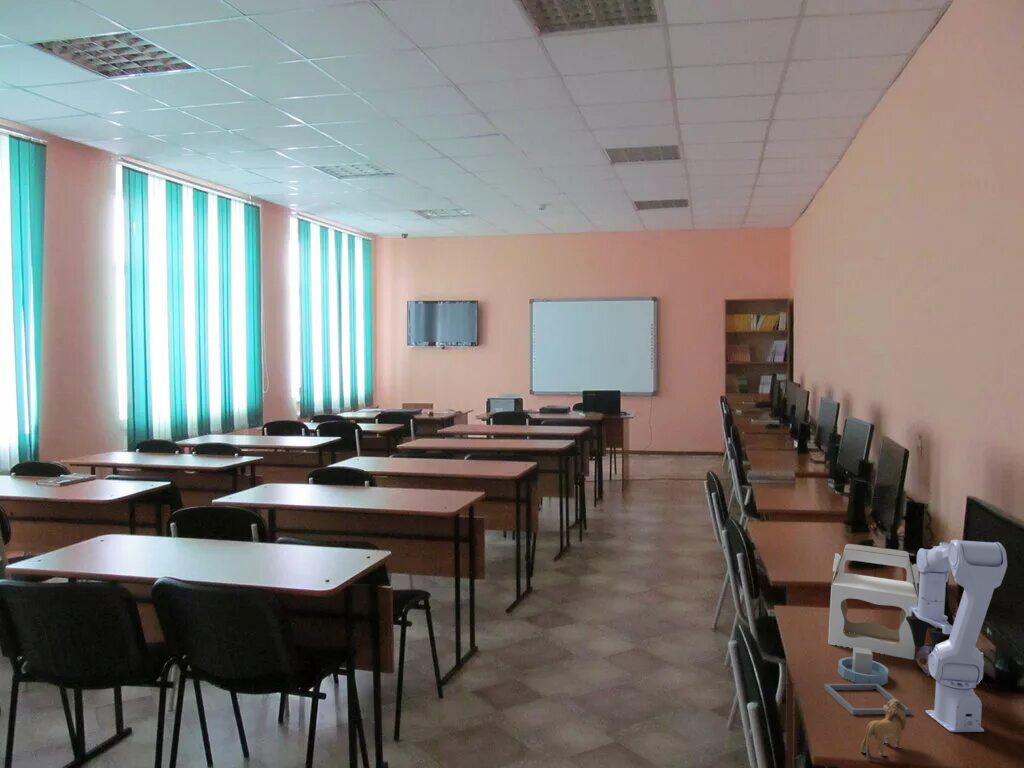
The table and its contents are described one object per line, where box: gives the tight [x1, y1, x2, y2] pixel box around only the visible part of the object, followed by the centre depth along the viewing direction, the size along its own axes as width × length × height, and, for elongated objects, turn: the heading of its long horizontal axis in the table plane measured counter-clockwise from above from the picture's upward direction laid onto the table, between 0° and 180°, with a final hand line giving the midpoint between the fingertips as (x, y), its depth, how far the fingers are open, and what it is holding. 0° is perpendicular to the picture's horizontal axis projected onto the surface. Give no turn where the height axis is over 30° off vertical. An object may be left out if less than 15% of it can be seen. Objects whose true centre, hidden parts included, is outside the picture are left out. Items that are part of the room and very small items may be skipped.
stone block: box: [852, 647, 874, 675], centre depth 203 cm, size 4×4×6 cm
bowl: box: [837, 656, 889, 687], centre depth 203 cm, size 12×12×2 cm
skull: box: [914, 642, 932, 677], centre depth 207 cm, size 12×8×6 cm, turn 151°
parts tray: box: [823, 683, 911, 716], centre depth 188 cm, size 14×14×1 cm
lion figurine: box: [860, 699, 907, 759], centre depth 166 cm, size 15×5×9 cm, turn 133°
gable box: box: [827, 543, 920, 661], centre depth 224 cm, size 22×13×28 cm, turn 64°
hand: (928, 652), depth 195 cm, fingers open, 7 cm apart
